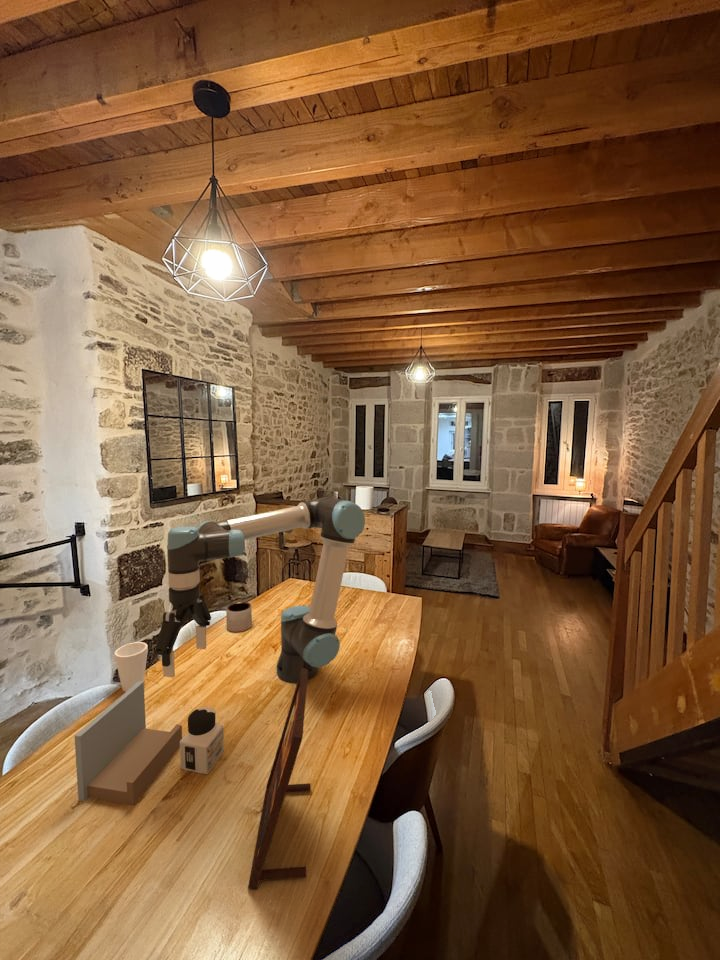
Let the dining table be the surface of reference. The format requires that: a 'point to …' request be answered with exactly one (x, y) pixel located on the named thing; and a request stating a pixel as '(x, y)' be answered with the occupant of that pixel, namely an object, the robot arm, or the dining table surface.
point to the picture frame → (281, 788)
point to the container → (201, 741)
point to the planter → (239, 616)
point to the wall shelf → (122, 751)
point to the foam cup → (131, 663)
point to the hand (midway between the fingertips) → (186, 661)
